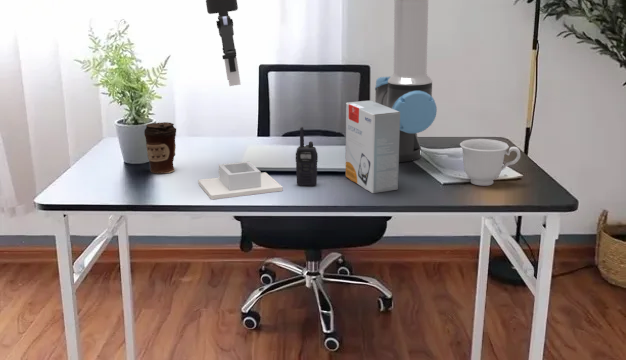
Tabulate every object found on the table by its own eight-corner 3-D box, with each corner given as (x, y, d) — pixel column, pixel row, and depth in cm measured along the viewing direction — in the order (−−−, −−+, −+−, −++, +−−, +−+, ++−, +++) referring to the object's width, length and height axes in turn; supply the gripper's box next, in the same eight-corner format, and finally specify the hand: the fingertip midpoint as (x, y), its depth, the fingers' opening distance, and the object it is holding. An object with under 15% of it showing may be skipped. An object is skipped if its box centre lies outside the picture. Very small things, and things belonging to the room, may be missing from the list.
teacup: (517, 192, 179) (520, 152, 176) (455, 187, 183) (457, 148, 181) (518, 178, 190) (521, 141, 187) (460, 174, 194) (462, 137, 192)
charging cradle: (265, 175, 194) (265, 157, 193) (282, 190, 182) (282, 171, 180) (198, 183, 188) (197, 164, 186) (211, 199, 175) (210, 179, 174)
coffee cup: (171, 176, 194) (167, 128, 190) (141, 175, 196) (137, 127, 192) (183, 167, 202) (180, 121, 199) (154, 166, 204) (151, 120, 200)
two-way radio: (295, 186, 185) (294, 128, 181) (297, 181, 189) (296, 124, 185) (316, 187, 185) (316, 128, 180) (318, 181, 189) (318, 124, 184)
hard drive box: (344, 177, 193) (344, 102, 187) (370, 174, 195) (371, 99, 190) (371, 194, 179) (373, 113, 173) (399, 190, 182) (401, 110, 176)
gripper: (205, -3, 191) (217, 79, 197) (205, -3, 167) (220, 90, 173) (233, -6, 192) (245, 75, 198) (238, -7, 168) (251, 85, 174)
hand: (233, 82), depth 185 cm, fingers open, 13 cm apart
